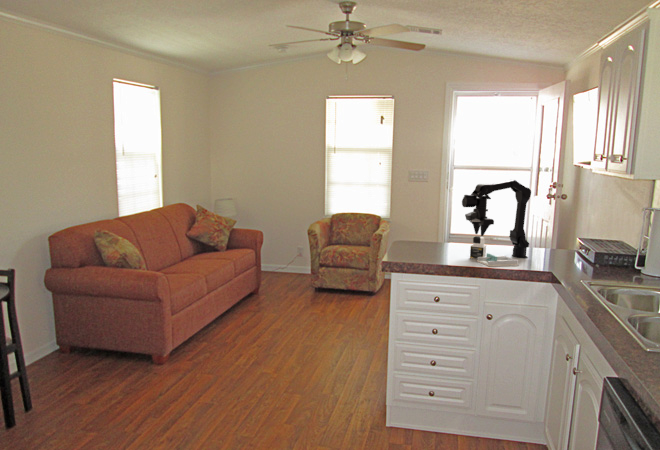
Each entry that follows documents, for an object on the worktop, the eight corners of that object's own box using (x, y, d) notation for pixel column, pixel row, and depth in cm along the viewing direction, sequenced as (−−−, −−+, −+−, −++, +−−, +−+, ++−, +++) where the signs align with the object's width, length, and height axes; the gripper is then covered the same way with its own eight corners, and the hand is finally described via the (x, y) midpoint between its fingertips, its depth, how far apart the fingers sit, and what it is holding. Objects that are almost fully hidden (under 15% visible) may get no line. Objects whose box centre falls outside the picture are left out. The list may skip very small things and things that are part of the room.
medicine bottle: (469, 258, 281) (471, 237, 280) (472, 256, 288) (473, 235, 286) (482, 259, 278) (484, 238, 276) (485, 257, 284) (486, 236, 283)
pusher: (488, 259, 273) (488, 253, 273) (496, 263, 265) (497, 256, 265) (474, 260, 271) (475, 253, 271) (482, 263, 263) (483, 257, 263)
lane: (504, 260, 278) (505, 255, 278) (517, 265, 267) (518, 260, 266) (477, 261, 274) (477, 256, 274) (489, 266, 262) (489, 261, 262)
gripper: (459, 205, 286) (457, 232, 288) (476, 209, 268) (474, 238, 270) (477, 205, 288) (475, 232, 291) (495, 209, 270) (493, 237, 273)
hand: (479, 235), depth 281 cm, fingers open, 6 cm apart
